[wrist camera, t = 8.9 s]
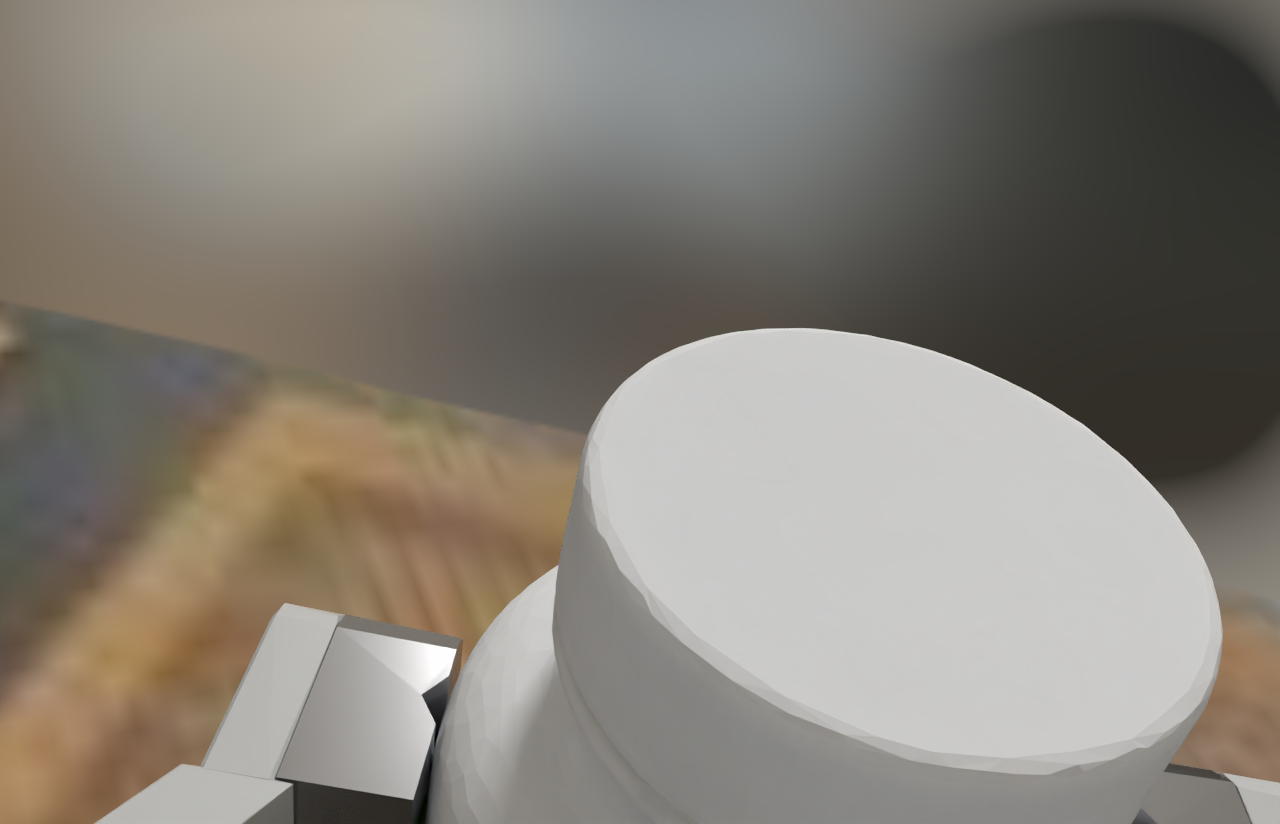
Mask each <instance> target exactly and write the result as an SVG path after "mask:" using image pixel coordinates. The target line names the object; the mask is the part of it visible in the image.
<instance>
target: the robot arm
mask: <svg viewBox="0 0 1280 824" xmlns="http://www.w3.org/2000/svg"><path fill="white" fill-rule="evenodd" d="M462 646H463V640H462V639H461V638H457V637H452V636H448V635H443V634H438V633H433V632H428V631H423V630H418V629H414V628H409V627H404V626H399V625H394V624H389V623H385V622H380V621H375V620H370V619H365V618H360V617H355V616H351V615H346V614H345V615H343V614H338V613H333V612H328V611H323V610H317V609H312V608H307V607H302V606H297V605H292V604H287V603H284V604H283V605H282V607H281V608H280V609H279V610H278V611H277V612H276V613H275V614H274V615H273V617H272V618H271V620H270V622H269V624H268V626H267V628H266V630H265V632H264V634H263V637H262V639H261V641H260V643H259V645H258V647H257V649H256V651H255V653H254V655H253V657H252V660H251V662H250V664H249V666H248V668H247V670H246V672H245V674H244V676H243V678H242V680H241V683H240V685H239V687H238V689H237V691H236V693H235V695H234V697H233V699H232V701H231V703H230V706H229V708H228V710H227V712H226V714H225V716H224V718H223V720H222V722H221V724H220V726H219V729H218V731H217V733H216V735H215V737H214V739H213V741H212V743H211V745H210V747H209V749H208V752H207V754H206V756H205V758H204V760H203V762H202V764H201V766H193V765H186V764H180V765H179V766H177V767H176V768H175V769H173V770H172V771H170V772H169V773H167V774H166V775H164V776H163V777H161V778H160V779H158V780H157V781H156V782H154V783H153V784H151V785H150V786H148V787H147V788H145V789H144V790H142V791H141V792H139V793H138V794H137V795H135V796H134V797H132V798H131V799H129V800H128V801H126V802H125V803H123V804H122V805H120V806H119V807H118V808H116V809H115V810H113V811H112V812H110V813H109V814H107V815H106V816H104V817H103V818H102V819H100V820H99V821H97V822H96V823H94V824H424V822H425V812H426V805H427V798H428V790H429V783H430V776H431V769H432V763H433V758H434V752H435V746H436V741H437V737H438V733H439V729H440V726H441V722H442V718H443V714H444V712H445V709H446V706H447V703H448V701H449V698H450V695H451V693H452V690H453V688H454V686H455V684H456V681H457V679H458V675H459V671H460V668H461V658H462ZM1132 824H1280V783H1276V782H1271V781H1265V780H1259V779H1254V778H1248V777H1242V776H1237V775H1231V774H1225V773H1216V772H1214V771H1212V770H1207V769H1201V768H1195V767H1189V766H1183V765H1177V764H1171V763H1169V764H1168V766H1167V767H1166V769H1165V770H1164V772H1163V773H1162V774H1161V776H1160V777H1159V779H1158V780H1157V782H1156V783H1155V784H1154V786H1153V787H1152V789H1151V790H1150V792H1149V793H1148V795H1147V797H1146V799H1145V802H1144V803H1143V805H1142V807H1141V809H1140V810H1139V812H1138V814H1137V815H1136V817H1135V819H1134V821H1133V822H1132Z"/></svg>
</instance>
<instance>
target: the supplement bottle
mask: <svg viewBox="0 0 1280 824" xmlns="http://www.w3.org/2000/svg"><path fill="white" fill-rule="evenodd" d="M1222 637H1223V630H1222V623H1221V616H1220V610H1219V604H1218V599H1217V595H1216V592H1215V588H1214V584H1213V580H1212V578H1211V575H1210V573H1209V570H1208V568H1207V565H1206V563H1205V561H1204V559H1203V557H1202V555H1201V553H1200V551H1199V549H1198V547H1197V545H1196V543H1195V542H1194V540H1193V539H1192V538H1191V536H1190V535H1189V533H1188V532H1187V530H1186V529H1185V528H1184V526H1183V524H1182V523H1181V521H1180V520H1179V518H1178V517H1177V515H1176V513H1175V512H1174V510H1173V509H1172V508H1171V506H1170V505H1169V504H1168V503H1167V502H1166V501H1165V500H1164V499H1163V497H1162V496H1161V495H1160V494H1159V493H1158V492H1157V491H1156V489H1155V488H1154V487H1153V486H1152V485H1151V484H1150V483H1149V482H1148V481H1147V480H1146V479H1145V478H1144V477H1143V476H1142V475H1141V474H1140V473H1139V472H1138V471H1137V470H1136V469H1135V468H1134V467H1133V466H1132V465H1131V464H1130V463H1129V462H1128V461H1127V460H1126V459H1125V458H1124V457H1123V456H1121V455H1120V454H1119V453H1118V452H1116V451H1115V450H1114V449H1112V448H1111V447H1110V446H1109V445H1108V444H1107V443H1105V442H1104V441H1103V440H1102V439H1100V438H1099V437H1098V436H1097V435H1095V434H1094V433H1093V432H1092V431H1091V430H1089V429H1088V428H1087V427H1085V426H1084V425H1083V424H1081V423H1080V422H1078V421H1077V420H1075V419H1073V418H1072V417H1070V416H1068V415H1067V414H1066V413H1064V412H1062V411H1061V410H1059V409H1058V408H1056V407H1055V406H1053V405H1051V404H1049V403H1048V402H1046V401H1044V400H1043V399H1041V398H1039V397H1038V396H1036V395H1034V394H1032V393H1030V392H1028V391H1026V390H1024V389H1022V388H1020V387H1018V386H1016V385H1014V384H1012V383H1010V382H1008V381H1006V380H1004V379H1001V378H1000V377H997V376H995V375H993V374H991V373H988V372H986V371H984V370H982V369H979V368H977V367H975V366H972V365H970V364H968V363H966V362H962V361H960V360H957V359H955V358H952V357H949V356H946V355H943V354H940V353H937V352H934V351H931V350H928V349H924V348H921V347H917V346H913V345H910V344H906V343H902V342H897V341H892V340H887V339H883V338H877V337H873V336H870V335H862V334H854V333H846V332H839V331H831V330H821V329H808V328H794V329H793V328H791V329H789V328H788V329H758V330H752V331H741V332H733V333H728V334H723V335H719V336H714V337H710V338H706V339H703V340H700V341H697V342H693V343H690V344H687V345H684V346H681V347H678V348H676V349H674V350H672V351H670V352H668V353H665V354H664V355H661V356H659V357H658V358H656V359H654V360H652V361H651V362H649V363H647V364H646V365H645V366H644V367H642V368H641V369H640V370H638V371H637V372H636V373H635V374H633V375H632V376H631V377H629V378H628V379H627V380H626V381H625V382H624V383H623V384H622V385H620V386H619V388H618V389H617V390H616V391H615V393H614V394H613V395H612V396H611V397H610V399H609V400H608V401H607V402H606V404H605V405H604V406H603V408H602V410H601V411H600V413H599V415H598V416H597V418H596V420H595V422H594V423H593V425H592V427H591V429H590V431H589V434H588V437H587V440H586V443H585V445H584V448H583V451H582V456H581V461H580V465H579V470H578V474H577V479H576V484H575V488H574V493H573V497H572V502H571V506H570V511H569V515H568V520H567V524H566V529H565V533H564V539H563V544H562V549H561V554H560V559H559V565H558V566H556V567H555V568H553V569H552V570H550V571H549V572H547V573H546V574H545V575H543V576H542V577H540V578H539V579H538V580H536V581H535V582H533V583H532V584H531V585H529V586H528V587H527V588H526V589H525V590H524V591H523V592H522V593H521V594H519V595H518V596H517V597H516V598H515V599H513V600H512V601H511V602H510V603H509V604H508V605H507V606H506V607H505V609H504V610H503V611H502V612H501V613H500V614H499V615H498V616H497V617H496V619H495V620H494V621H493V622H492V624H491V625H490V626H489V628H488V629H487V630H486V631H485V633H484V634H483V635H482V637H481V638H480V640H479V641H478V643H477V645H476V646H475V648H474V649H473V651H472V653H471V654H470V656H469V658H468V660H467V662H466V663H465V665H464V667H463V669H462V671H461V672H460V674H459V677H458V679H457V681H456V684H455V686H454V688H453V690H452V693H451V695H450V698H449V701H448V703H447V706H446V709H445V712H444V714H443V718H442V722H441V726H440V729H439V733H438V737H437V741H436V746H435V752H434V758H433V763H432V769H431V776H430V783H429V790H428V798H427V805H426V812H425V822H424V824H1132V822H1133V821H1134V819H1135V817H1136V815H1137V814H1138V812H1139V810H1140V809H1141V807H1142V805H1143V803H1144V802H1145V799H1146V797H1147V795H1148V793H1149V792H1150V790H1151V789H1152V787H1153V786H1154V784H1155V783H1156V782H1157V780H1158V779H1159V777H1160V776H1161V774H1162V773H1163V772H1164V770H1165V769H1166V767H1167V766H1168V764H1169V763H1170V761H1171V760H1172V758H1173V757H1174V755H1175V754H1176V752H1177V751H1178V749H1179V748H1180V746H1181V745H1182V743H1183V741H1184V740H1185V738H1186V737H1187V735H1188V734H1189V732H1190V731H1191V729H1192V728H1193V726H1194V725H1195V723H1196V722H1197V720H1198V719H1199V717H1200V716H1201V714H1202V713H1203V711H1204V709H1205V708H1206V705H1207V703H1208V700H1209V698H1210V695H1211V692H1212V690H1213V687H1214V684H1215V681H1216V678H1217V673H1218V668H1219V663H1220V658H1221V651H1222Z"/></svg>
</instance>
